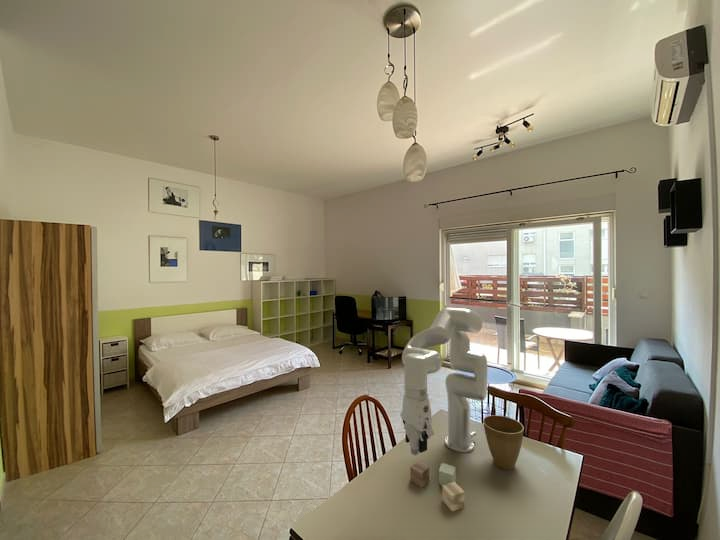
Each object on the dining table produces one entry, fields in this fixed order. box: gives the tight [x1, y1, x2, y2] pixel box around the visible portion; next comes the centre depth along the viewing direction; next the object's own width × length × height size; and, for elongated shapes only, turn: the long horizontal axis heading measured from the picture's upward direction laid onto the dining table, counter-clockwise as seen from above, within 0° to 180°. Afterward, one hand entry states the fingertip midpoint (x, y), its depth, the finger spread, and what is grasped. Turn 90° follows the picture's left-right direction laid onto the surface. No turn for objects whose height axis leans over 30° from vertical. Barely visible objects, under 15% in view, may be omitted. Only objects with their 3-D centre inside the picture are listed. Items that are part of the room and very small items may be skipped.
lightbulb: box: [405, 424, 424, 456], centre depth 96 cm, size 6×6×11 cm
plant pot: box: [482, 414, 525, 470], centre depth 117 cm, size 15×15×16 cm
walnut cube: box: [409, 460, 430, 488], centre depth 107 cm, size 5×5×5 cm
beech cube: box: [441, 481, 466, 512], centre depth 96 cm, size 5×5×5 cm
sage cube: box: [438, 462, 457, 486], centre depth 106 cm, size 5×5×5 cm
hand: (416, 445), depth 96 cm, fingers closed on lightbulb, 5 cm apart
